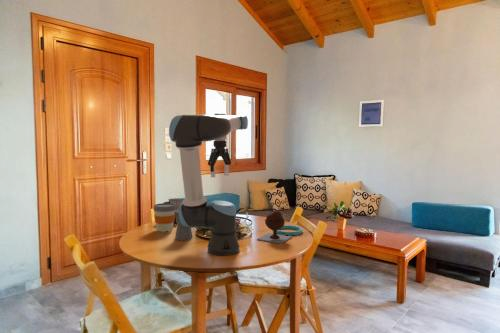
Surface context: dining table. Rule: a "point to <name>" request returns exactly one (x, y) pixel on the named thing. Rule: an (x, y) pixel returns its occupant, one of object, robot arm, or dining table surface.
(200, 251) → the dining table surface
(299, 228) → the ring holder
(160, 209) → the reusable coffee cup
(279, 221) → the ice cream bowl
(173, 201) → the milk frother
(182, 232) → the coffeepot
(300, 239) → the dining table surface
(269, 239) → the mat
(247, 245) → the dining table surface
